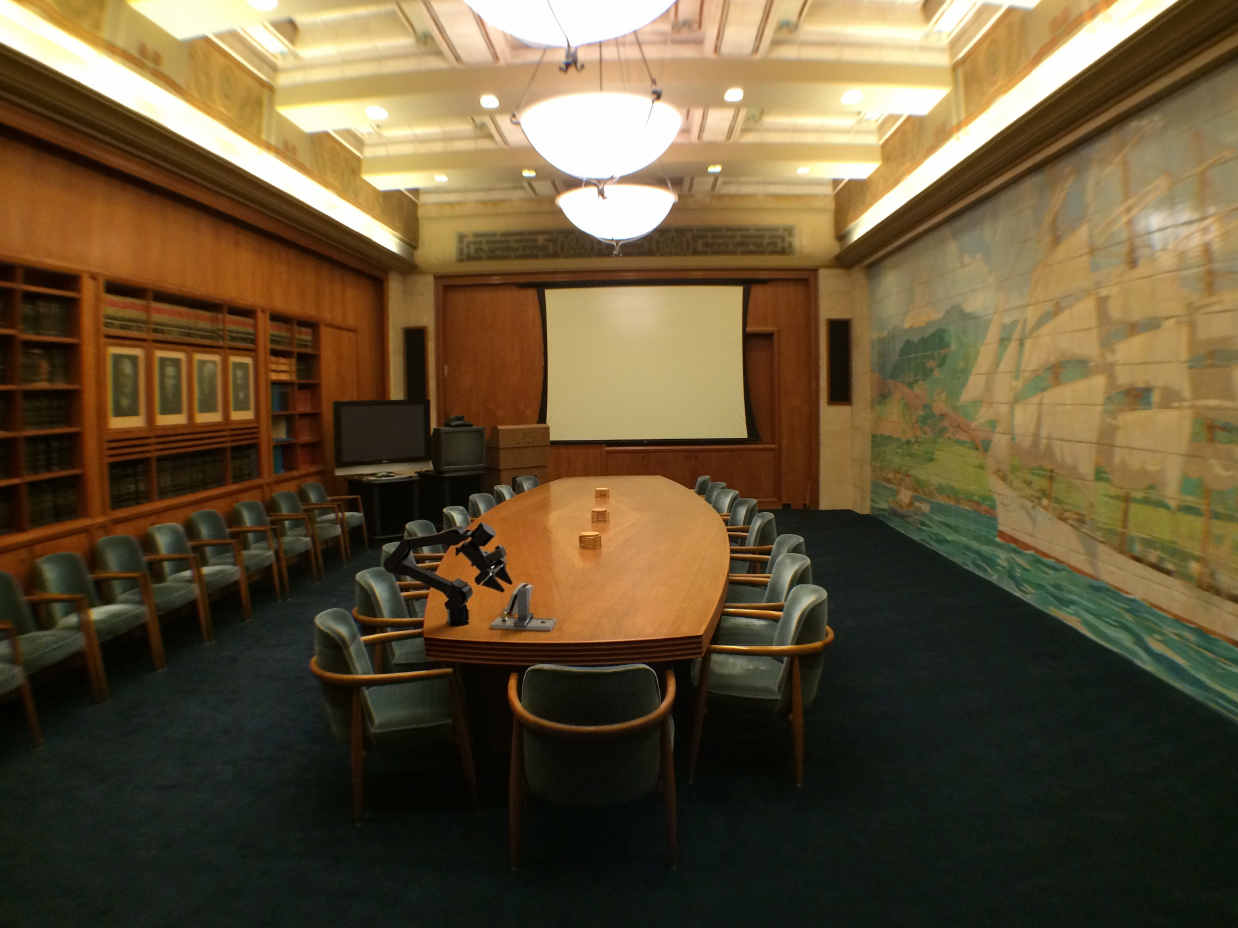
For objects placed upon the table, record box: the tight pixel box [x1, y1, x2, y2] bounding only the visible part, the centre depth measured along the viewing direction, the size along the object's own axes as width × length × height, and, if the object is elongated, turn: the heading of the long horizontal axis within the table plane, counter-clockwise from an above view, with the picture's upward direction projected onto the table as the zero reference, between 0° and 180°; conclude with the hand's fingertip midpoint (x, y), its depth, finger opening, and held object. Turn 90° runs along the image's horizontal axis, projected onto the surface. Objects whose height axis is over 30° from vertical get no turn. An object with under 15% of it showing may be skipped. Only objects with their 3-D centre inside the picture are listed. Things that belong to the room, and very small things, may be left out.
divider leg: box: [514, 588, 534, 628], centre depth 239 cm, size 4×10×12 cm, turn 172°
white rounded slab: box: [502, 582, 534, 616], centre depth 259 cm, size 17×5×10 cm, turn 168°
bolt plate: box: [490, 611, 557, 632], centre depth 239 cm, size 21×8×4 cm, turn 82°
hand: (508, 587), depth 239 cm, fingers open, 9 cm apart
